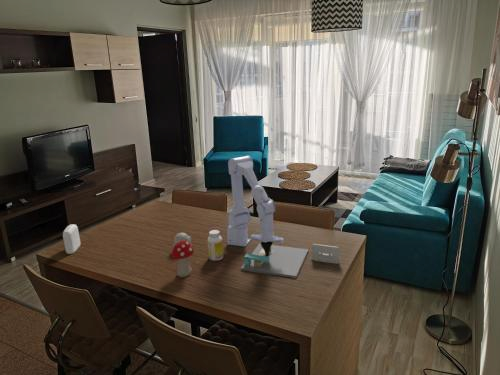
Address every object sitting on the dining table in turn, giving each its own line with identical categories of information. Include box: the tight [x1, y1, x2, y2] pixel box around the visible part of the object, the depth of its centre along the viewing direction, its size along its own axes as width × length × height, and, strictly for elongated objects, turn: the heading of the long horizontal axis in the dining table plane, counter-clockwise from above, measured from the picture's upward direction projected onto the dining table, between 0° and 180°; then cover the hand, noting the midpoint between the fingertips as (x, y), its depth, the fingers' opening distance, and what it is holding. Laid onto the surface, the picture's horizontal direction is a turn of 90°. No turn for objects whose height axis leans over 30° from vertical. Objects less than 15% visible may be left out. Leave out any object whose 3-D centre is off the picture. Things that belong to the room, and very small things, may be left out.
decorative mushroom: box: [170, 241, 195, 278], centre depth 162 cm, size 10×9×15 cm
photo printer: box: [62, 224, 82, 255], centre depth 190 cm, size 10×4×12 cm, turn 2°
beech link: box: [254, 247, 271, 267], centre depth 173 cm, size 17×4×3 cm, turn 162°
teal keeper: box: [243, 253, 270, 265], centre depth 167 cm, size 10×3×5 cm, turn 70°
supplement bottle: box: [207, 229, 224, 262], centre depth 176 cm, size 7×7×13 cm
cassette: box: [311, 243, 341, 265], centre depth 170 cm, size 12×2×8 cm, turn 69°
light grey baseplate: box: [240, 242, 309, 279], centre depth 173 cm, size 24×25×1 cm
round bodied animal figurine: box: [171, 232, 192, 250], centre depth 187 cm, size 7×12×8 cm, turn 154°
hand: (267, 256), depth 173 cm, fingers closed
